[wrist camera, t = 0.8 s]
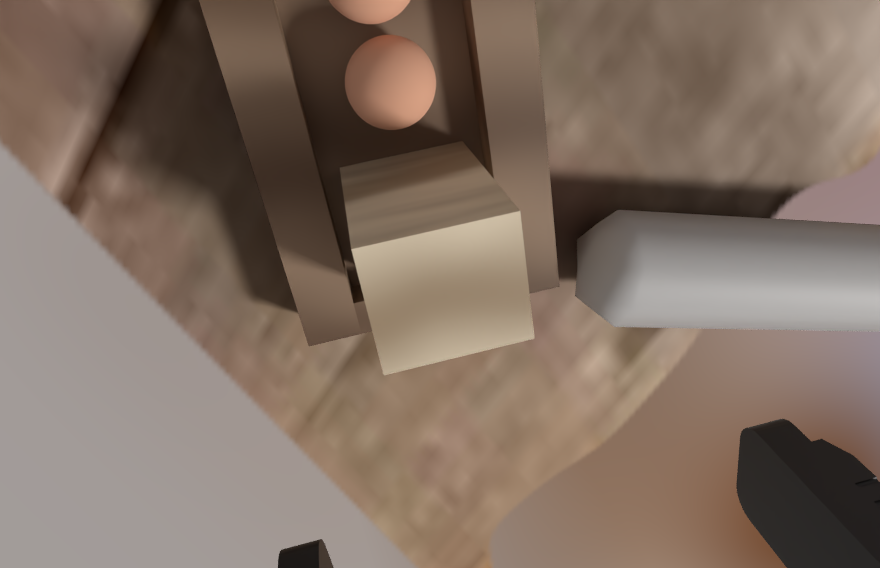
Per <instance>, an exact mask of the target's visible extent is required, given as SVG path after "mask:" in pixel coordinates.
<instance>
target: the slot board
mask: <svg viewBox="0 0 880 568" xmlns="http://www.w3.org/2000/svg"><path fill="white" fill-rule="evenodd" d="M199 2H200V6H201V9H202V12H203V15H204V18H205V21H206V24H207V28H208V31H209V34H210V37H211V40H212V43H213V46H214V50H215V53H216V56H217V59H218V62H219V65H220V68H221V72H222V75H223V78H224V81H225V84H226V87H227V90H228V94H229V97H230V100H231V103H232V106H233V109H234V112H235V116H236V119H237V122H238V125H239V128H240V131H241V134H242V138H243V141H244V144H245V147H246V150H247V153H248V156H249V160H250V163H251V166H252V169H253V172H254V175H255V178H256V182H257V185H258V188H259V191H260V194H261V197H262V200H263V204H264V207H265V210H266V213H267V216H268V219H269V222H270V226H271V229H272V232H273V235H274V238H275V241H276V244H277V248H278V251H279V254H280V257H281V260H282V263H283V266H284V270H285V273H286V276H287V279H288V282H289V285H290V288H291V292H292V295H293V298H294V301H295V304H296V307H297V310H298V314H299V317H300V320H301V323H302V326H303V329H304V332H305V336H306V339H307V342H308V345H309V346H312V345H316V344H320V343H325V342H329V341H333V340H337V339H341V338H345V337H350V336H354V335H358V334H362V333H366V332H371V331H372V328H371V324H370V320H369V316H368V312H367V308H366V305H365V301H364V297H363V293H362V289H361V285H360V281H359V277H358V273H357V269H356V266H355V262H354V258H353V254H352V250H351V244H350V237H349V230H348V223H347V216H346V209H345V202H344V195H343V188H342V181H341V174H340V167H345V166H349V165H354V164H359V163H363V162H368V161H372V160H377V159H382V158H386V157H391V156H396V155H400V154H405V153H409V152H414V151H419V150H423V149H428V148H433V147H437V146H442V145H446V144H451V143H456V142H460V141H463V142H464V143H465V145H466V146H467V147H468V148H469V150H470V151H471V152H472V153H473V154H474V156H475V157H476V158H477V159H478V160H479V162H480V163H481V164H482V165H483V166H484V168H485V169H486V170H487V171H488V173H489V174H490V175H491V176H492V177H493V179H494V180H495V181H496V182H497V183H498V185H499V186H500V187H501V188H502V189H503V191H504V192H505V193H506V194H507V196H508V197H509V198H510V199H511V200H512V202H513V203H514V204H515V205H516V206H517V208H518V209H519V210H520V213H521V222H522V231H523V240H524V249H525V258H526V267H527V276H528V285H529V294H530V293H534V292H538V291H542V290H547V289H551V288H555V287H559V276H558V264H557V252H556V241H555V229H554V217H553V206H552V194H551V182H550V171H549V159H548V147H547V136H546V124H545V112H544V101H543V89H542V77H541V65H540V54H539V42H538V30H537V19H536V7H535V0H410V2H409V3H408V5H407V6H406V8H405V9H404V10H403V11H402V12H401V13H400V14H398V15H397V16H396V17H394V18H392V19H391V20H388V21H386V22H383V23H379V24H363V23H359V22H355V21H353V20H350V19H348V18H347V17H345V16H343V15H342V14H341V13H340V12H338V11H337V10H336V9H335V8H334V7H333V6H332V4H331V3H330V2H329V0H199ZM381 35H397V36H401V37H405V38H407V39H409V40H411V41H413V42H415V43H416V44H417V45H418V46H420V47H421V48H422V49H423V50H424V52H425V53H426V54H427V56H428V57H429V59H430V61H431V63H432V65H433V68H434V71H435V76H436V90H435V96H434V99H433V102H432V104H431V106H430V108H429V110H428V111H427V112H426V114H425V115H424V116H423V117H422V118H421V119H420V120H419V121H417V122H416V123H414V124H413V125H411V126H409V127H406V128H403V129H398V130H385V129H380V128H377V127H374V126H372V125H370V124H368V123H367V122H365V121H364V120H363V119H361V118H360V117H359V116H358V115H357V113H356V112H355V111H354V109H353V108H352V106H351V104H350V102H349V100H348V98H347V94H346V89H345V73H346V69H347V65H348V63H349V60H350V58H351V56H352V55H353V54H354V52H355V51H356V50H357V49H358V48H359V46H361V45H362V44H363V43H364V42H366V41H368V40H369V39H372V38H374V37H377V36H381Z"/></svg>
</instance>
